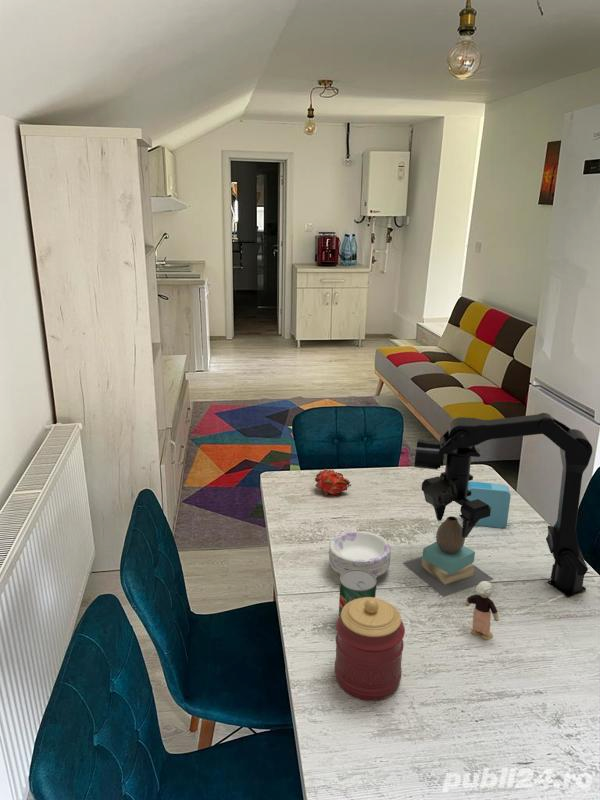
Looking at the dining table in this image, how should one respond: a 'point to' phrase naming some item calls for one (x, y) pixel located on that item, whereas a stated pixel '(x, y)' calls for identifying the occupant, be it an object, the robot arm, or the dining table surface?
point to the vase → (450, 536)
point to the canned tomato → (356, 586)
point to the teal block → (448, 558)
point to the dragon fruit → (331, 482)
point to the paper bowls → (359, 553)
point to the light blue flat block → (492, 502)
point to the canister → (369, 648)
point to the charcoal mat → (452, 587)
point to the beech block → (447, 577)
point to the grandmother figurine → (482, 610)
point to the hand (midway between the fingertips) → (451, 528)
